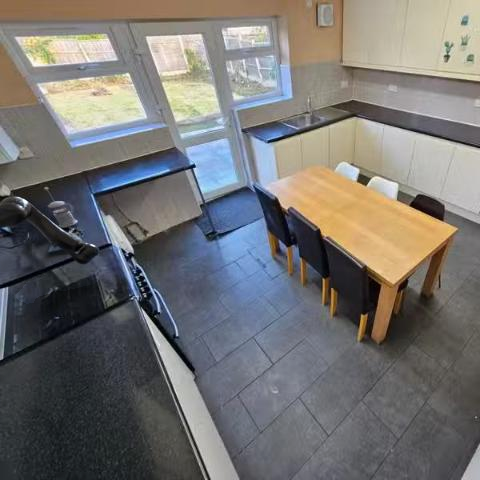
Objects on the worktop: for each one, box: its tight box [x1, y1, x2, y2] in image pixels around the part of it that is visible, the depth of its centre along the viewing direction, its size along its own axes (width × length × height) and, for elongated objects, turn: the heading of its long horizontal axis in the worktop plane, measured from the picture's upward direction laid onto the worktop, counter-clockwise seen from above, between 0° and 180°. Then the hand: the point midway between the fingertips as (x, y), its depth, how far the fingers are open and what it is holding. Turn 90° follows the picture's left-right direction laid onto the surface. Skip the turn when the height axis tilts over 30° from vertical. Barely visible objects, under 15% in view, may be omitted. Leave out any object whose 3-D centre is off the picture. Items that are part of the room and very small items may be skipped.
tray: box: [46, 228, 86, 256], centre depth 158 cm, size 18×14×2 cm
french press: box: [43, 186, 79, 229], centre depth 168 cm, size 10×12×25 cm
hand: (61, 232), depth 150 cm, fingers open, 8 cm apart
